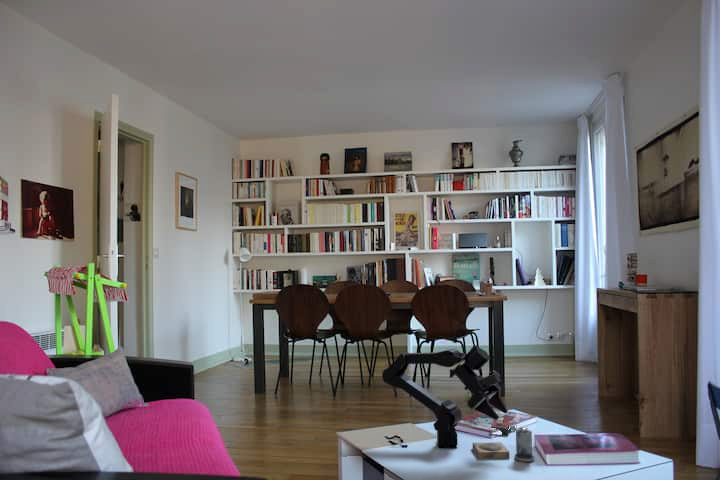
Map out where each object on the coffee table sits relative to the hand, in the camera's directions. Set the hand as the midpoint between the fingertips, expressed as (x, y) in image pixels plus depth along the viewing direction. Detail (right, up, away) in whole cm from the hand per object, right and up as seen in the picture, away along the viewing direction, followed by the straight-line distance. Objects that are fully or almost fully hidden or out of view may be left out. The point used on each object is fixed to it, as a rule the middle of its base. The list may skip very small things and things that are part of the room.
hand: (502, 415), depth 184 cm
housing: (+6, -13, -4) cm, 15 cm away
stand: (-3, -13, +2) cm, 14 cm away
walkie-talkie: (+9, -15, +30) cm, 35 cm away
